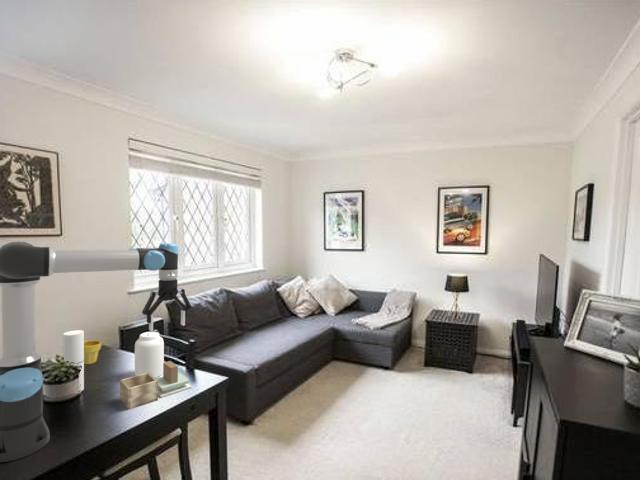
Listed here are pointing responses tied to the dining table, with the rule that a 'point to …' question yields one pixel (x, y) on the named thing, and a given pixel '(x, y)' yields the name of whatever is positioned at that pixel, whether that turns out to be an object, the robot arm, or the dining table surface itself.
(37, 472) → the dining table surface
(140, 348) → the white jar
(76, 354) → the cylindrical container
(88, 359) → the plant pot
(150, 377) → the storage box
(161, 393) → the felt mat
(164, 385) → the lid
